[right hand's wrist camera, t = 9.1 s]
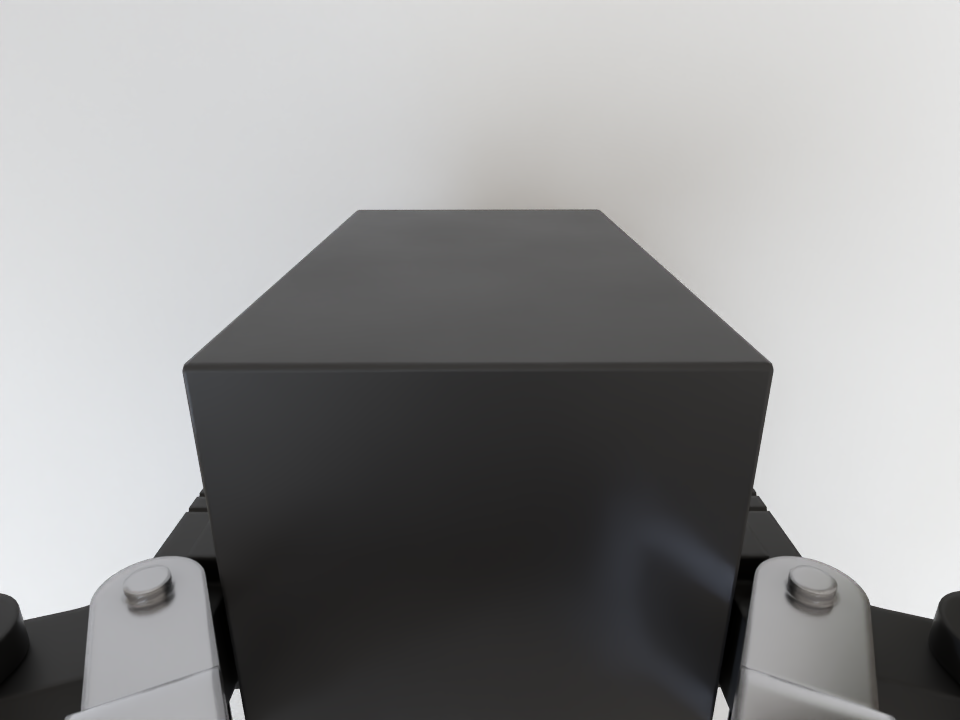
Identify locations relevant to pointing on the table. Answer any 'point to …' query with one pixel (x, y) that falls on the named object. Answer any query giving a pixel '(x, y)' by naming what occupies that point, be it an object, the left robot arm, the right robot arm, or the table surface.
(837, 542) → the table surface
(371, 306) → the box
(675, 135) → the table surface
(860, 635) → the right robot arm
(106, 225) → the table surface
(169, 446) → the table surface
